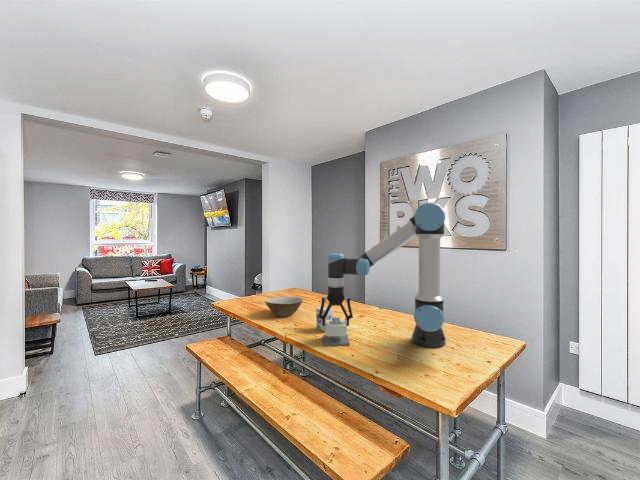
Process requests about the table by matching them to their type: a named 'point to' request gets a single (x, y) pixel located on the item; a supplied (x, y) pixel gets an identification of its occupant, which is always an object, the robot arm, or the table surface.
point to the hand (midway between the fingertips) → (335, 332)
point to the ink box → (319, 320)
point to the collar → (335, 328)
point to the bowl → (284, 305)
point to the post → (336, 337)
